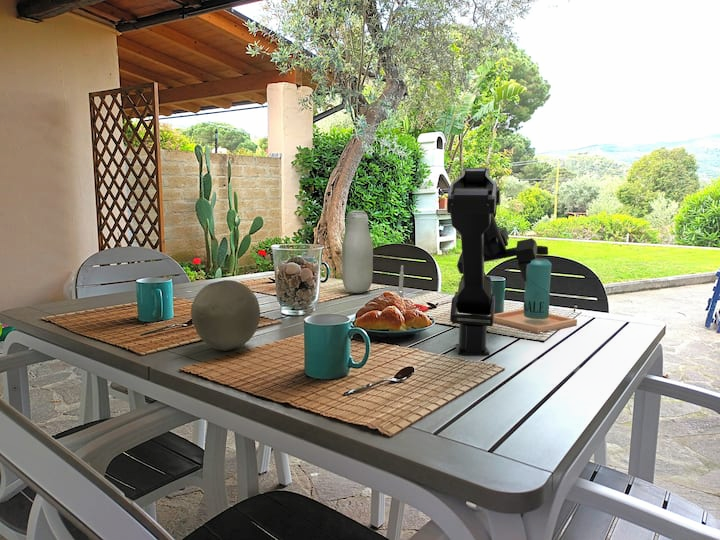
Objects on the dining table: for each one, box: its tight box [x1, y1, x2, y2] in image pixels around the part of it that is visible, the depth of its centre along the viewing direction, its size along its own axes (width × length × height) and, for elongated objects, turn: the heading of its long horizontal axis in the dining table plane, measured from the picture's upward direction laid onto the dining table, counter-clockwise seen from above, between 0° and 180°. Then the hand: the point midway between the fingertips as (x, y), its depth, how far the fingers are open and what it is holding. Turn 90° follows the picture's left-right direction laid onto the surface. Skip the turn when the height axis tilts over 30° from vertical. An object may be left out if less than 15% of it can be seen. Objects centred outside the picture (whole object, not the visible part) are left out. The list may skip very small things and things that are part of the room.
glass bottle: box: [341, 209, 374, 294], centre depth 175 cm, size 10×10×28 cm
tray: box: [486, 308, 578, 334], centre depth 137 cm, size 16×16×2 cm
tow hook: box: [397, 264, 429, 313], centre depth 151 cm, size 8×13×9 cm
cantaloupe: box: [190, 279, 261, 352], centre depth 110 cm, size 14×14×15 cm
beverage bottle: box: [522, 245, 553, 319], centre depth 134 cm, size 6×7×20 cm
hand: (507, 283), depth 129 cm, fingers open, 9 cm apart
